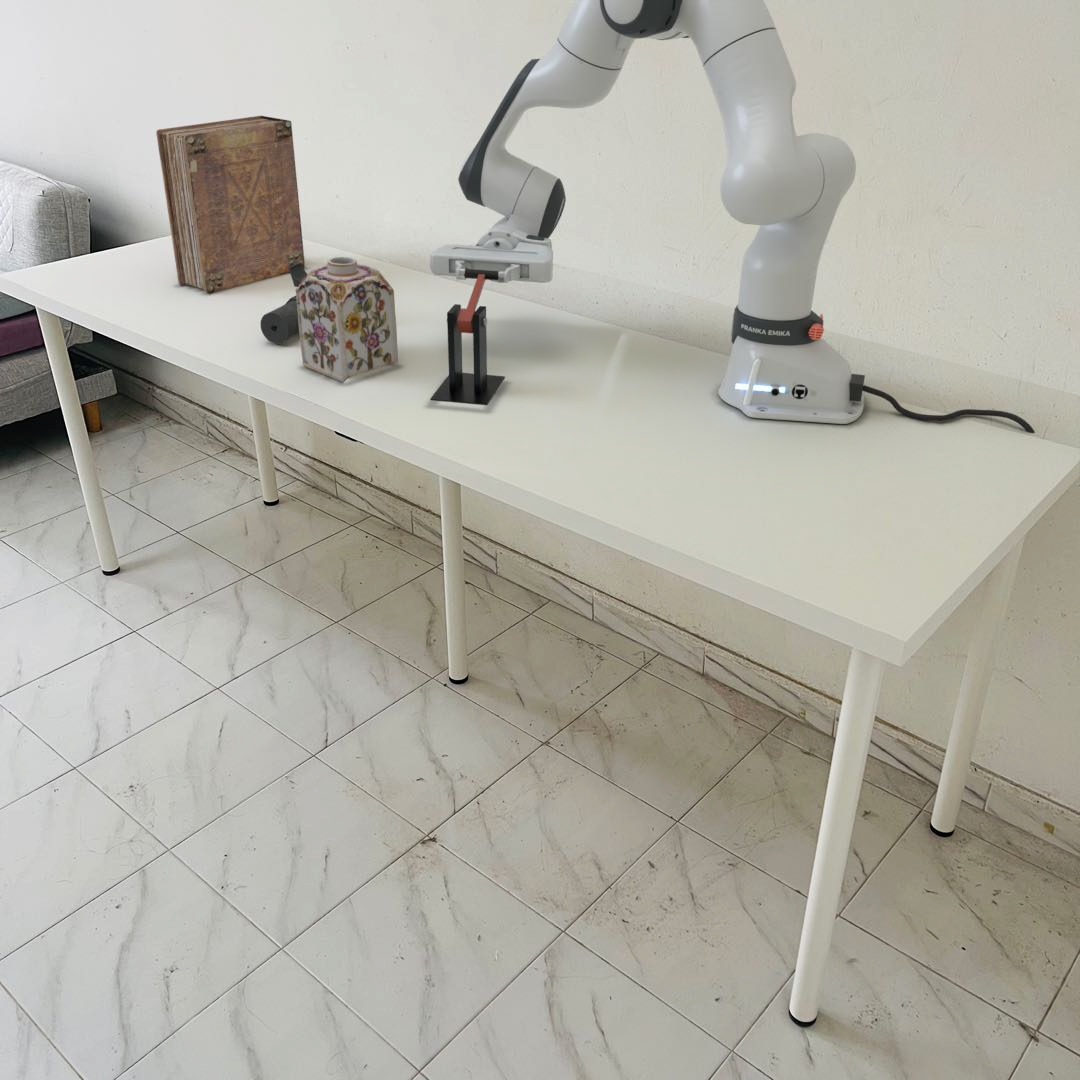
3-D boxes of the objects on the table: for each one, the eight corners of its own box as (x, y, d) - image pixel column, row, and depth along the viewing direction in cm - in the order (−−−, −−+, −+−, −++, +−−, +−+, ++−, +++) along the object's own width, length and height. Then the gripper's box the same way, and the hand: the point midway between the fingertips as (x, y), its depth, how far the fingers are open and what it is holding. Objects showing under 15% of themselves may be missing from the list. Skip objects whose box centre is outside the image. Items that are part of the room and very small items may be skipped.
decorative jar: (300, 367, 182) (289, 259, 173) (355, 350, 190) (348, 246, 181) (345, 385, 175) (336, 274, 166) (401, 367, 183) (395, 260, 174)
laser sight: (252, 341, 193) (245, 286, 188) (320, 306, 211) (316, 254, 206) (299, 349, 190) (294, 292, 185) (364, 312, 208) (361, 260, 203)
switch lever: (468, 276, 175) (466, 264, 173) (501, 278, 174) (499, 266, 172) (448, 331, 167) (446, 319, 165) (483, 334, 166) (481, 322, 164)
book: (205, 294, 217) (183, 135, 202) (178, 285, 222) (154, 130, 207) (305, 268, 234) (291, 119, 219) (278, 260, 239) (262, 115, 224)
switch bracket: (451, 378, 178) (448, 295, 172) (504, 383, 177) (504, 300, 170) (430, 406, 168) (426, 319, 161) (486, 411, 167) (485, 324, 160)
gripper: (441, 231, 184) (417, 252, 173) (560, 239, 181) (544, 260, 169) (442, 269, 188) (419, 291, 176) (559, 277, 184) (543, 300, 172)
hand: (481, 276), depth 172 cm, fingers closed on switch lever, 5 cm apart
